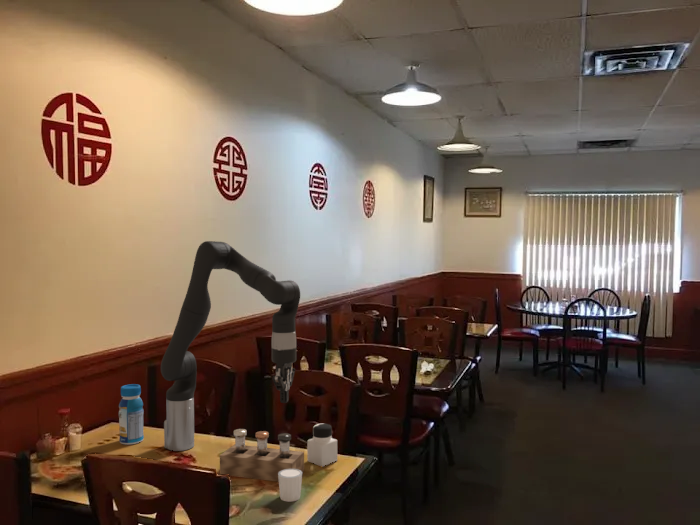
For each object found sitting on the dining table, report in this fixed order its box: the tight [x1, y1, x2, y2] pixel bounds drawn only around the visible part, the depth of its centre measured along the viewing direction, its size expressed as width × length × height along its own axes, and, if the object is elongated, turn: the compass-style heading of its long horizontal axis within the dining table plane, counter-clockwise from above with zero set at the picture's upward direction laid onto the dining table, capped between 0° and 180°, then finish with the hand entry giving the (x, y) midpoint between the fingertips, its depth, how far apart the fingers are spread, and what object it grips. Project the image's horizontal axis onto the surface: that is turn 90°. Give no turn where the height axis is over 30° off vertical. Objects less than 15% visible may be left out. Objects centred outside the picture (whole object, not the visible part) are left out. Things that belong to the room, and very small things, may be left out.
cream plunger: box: [233, 428, 248, 454], centre depth 187 cm, size 4×4×7 cm
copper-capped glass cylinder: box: [255, 430, 270, 456], centre depth 185 cm, size 4×4×7 cm
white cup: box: [278, 469, 303, 503], centre depth 167 cm, size 7×7×7 cm
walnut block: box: [219, 444, 305, 483], centre depth 185 cm, size 24×10×6 cm, turn 74°
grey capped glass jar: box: [277, 432, 292, 459], centre depth 183 cm, size 4×4×7 cm
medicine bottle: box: [306, 423, 338, 468], centre depth 194 cm, size 7×7×12 cm
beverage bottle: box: [118, 383, 145, 446], centre depth 213 cm, size 8×8×20 cm
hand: (284, 402), depth 182 cm, fingers closed
